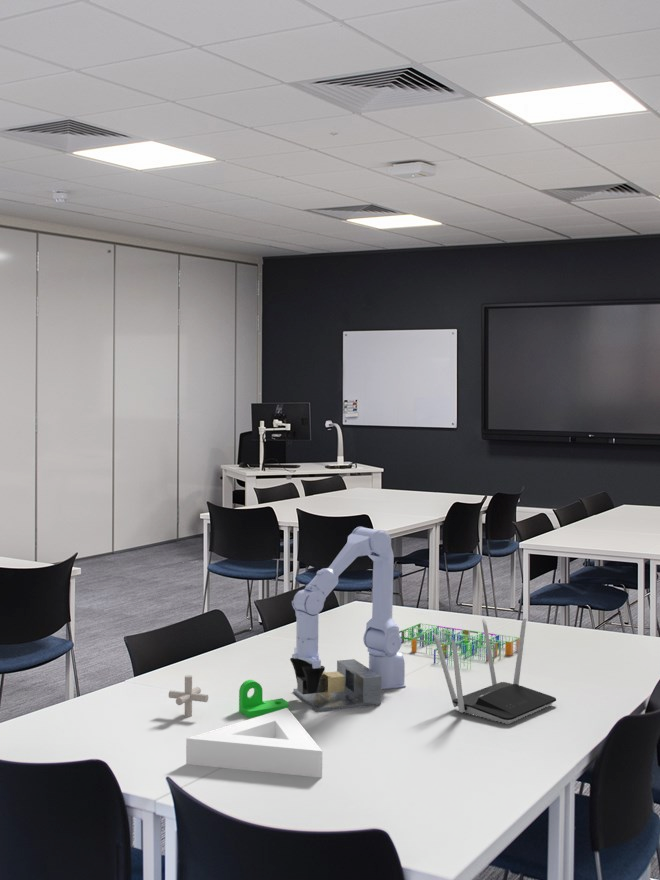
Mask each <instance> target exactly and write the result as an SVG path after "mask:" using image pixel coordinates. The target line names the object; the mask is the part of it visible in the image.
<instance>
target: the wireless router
mask: <svg viewBox="0 0 660 880" xmlns="http://www.w3.org/2000/svg"><path fill="white" fill-rule="evenodd" d="M481 621H482V628H483V632H484V634H483V635H484V638H485V641H486V643H485V645H486V646H485V647H486V648H487V654H488V661H487V662H488V666H489V673H490V679H491V685H489V686H486V687H485V688H481V689H478V690H476V691H475V690H474V692H470V693H468V694H465V695H464V694H463V687H462V678H461V671H460V669H461V668H460V665H459V664H460V661H459V658H458V657H459V654H458V653H459V652H458V645H456V643H457V642H456V640H455V641H454V640H451V641H450V642H452V652H453V653H452V660H453V661H452V662H453V668H454V677H455V678H454V679H455V687H456V692H455V688H454V684H453V682H452V678H451V676H450V675H451V674H450V672H449V668H448V666H447V660H445V659H446V658H444V654H443V651H442V648H441V646H442V645H441V644H440V639H439V638H440V637H439V638H438V635H437V634H436V633H435V632H434V633H433V632H432V636H433V635H434V639H435V640H434V642H436V644H435V646H436V648H437V654H438V653H439V654H438V655H439V656H438V658H440V659H439V660H440V664H441V667H442V670H443V674H444V678H445V680H446V684H447V688H448V691H449V695H450V699H451V702H452V706H453V707H454V708H456V707H458V712H459V713H462V714H463V712H466V713H470V714H474V715H477V716H481V717H484V718H483V719H485V718H487V719H486V720H489V719H491V720H490V721H493V720H494V721H493V722H496V721H498V722H497V723H500V722H502V723H501V724H504V723H505V724H504V725H510V724H512V723H514V721H515V722H517V721H519V720H521V718H522V719H524V718H526V717H528V716H527V715H529V714H531V713H533V714H535V713H534V712H536V711H538V710H540V711H542V710H541V709H543V708H545V707H547V708H549V707H548V706H550V705H551V706H552V704H553V703H555V702H556V701H557V698H556V697H554V696H552V695H549V694H548V693H547V694H546V693H544V692H541V691H537V690H534V689H532V688H528V687H525V686H523V685H520V677H521V671H522V670H521V668H522V661H523V653H524V652H523V651H524V645H525V644H524V643H525V633H526V627H527V618H523V619H522V622H521V625H520V633H519V646H518V652H516V661H515V668H514V669H515V670H514V676H513V683H510V682H507V681H505V682H504V681H500V682H498V681H497V677H496V671H495V666H494V662H493V658H492V657H493V652H492V649H491V648H492V647H491V646H490V641H489V639H490V637H489V636H490V635H489V634H488V633H489V631H488V630H489V629H488V623H487V622H486V621H485V619H484V618H482V620H481ZM455 642H456V643H455ZM486 648H485V649H486ZM497 682H498V683H497ZM551 706H550V707H551ZM545 709H546V708H545ZM543 710H544V709H543ZM538 712H539V711H538ZM466 713H465V714H466ZM536 713H537V712H536ZM470 714H469V715H470ZM474 715H473V716H474ZM531 715H532V714H531ZM477 716H476V717H477ZM525 716H526V717H525ZM529 716H530V715H529ZM481 717H480V718H481ZM523 717H524V718H523ZM518 719H519V720H518ZM516 720H517V721H516Z"/></svg>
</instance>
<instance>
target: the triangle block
mask: <svg viewBox="0 0 660 880" xmlns="http://www.w3.org/2000/svg"><path fill="white" fill-rule="evenodd" d="M289 709H290V708H289ZM289 709H288V708H285V709H281V710H278V711H275V712H272V713H268V714H265V715H262V716H258V717H253V718H248V719H246V720H242V721H239V722H236V723H232V724H229V725H226V726H222V727H220V728H216V729H213V730H209V731H206V732H203V733H199V734H196V735H192V736H189V737H187V738H186V739H185V740H186V743H185V745H186V747H185V748H186V749H185V751H186V752H185V755H186V756H185V759H186V760H185V764H186V765H193V766H203V767H204V766H205V767H210V768H211V767H213V768H223V769H230V770H231V769H233V770H243V771H253V772H262V773H271V774H280V775H282V774H283V775H290V776H291V775H292V776H303V777H312V778H323V750H322V749H321V747H320V746H319V745H318V744H317V743H316V741H315V740H314V739H313V738H312V737H311V735H310V733H308V731H307V730H306V729H305V728H304V727H303V725H302V724H301V723H300V722H299V720H298V719H297V718H296V717H295V716H294V714H293V713H292V712H291V711H290V710H289Z"/></svg>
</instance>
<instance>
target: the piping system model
mask: <svg viewBox="0 0 660 880" xmlns="http://www.w3.org/2000/svg"><path fill="white" fill-rule="evenodd" d="M421 625H422V623H421V622H420V623H417V624H415V625H412V626H410V627H407V628H405V629H401V630H399V634H400V633H401V635H400V637H401V644H405V643H408V642H409V641H410V645H411V653H418V654H422V652H419V651H418V650H417V649H418V648H417V646H418V642H419V647H421V648H423V647H426V648H425V649H426V650H425V651H426V653H424V654H426V655H427V654H428V652H427V651H428V649H429V650H431V647H429V648H428V645H429V646H430V645H433V644H434V645H436V642H435V639H434V635H433V633H434V632H435V633H436V634H437V636H438V638H439V641H440V644H441V648H442V651H443V654H444V658H445V661H446V664H447V667H448V666H450V667H453V662H454V661H453V651H452V642H451V640H454V641H455V643H456V645H457V646H458V649H457V653H458V655H459V656H458V659H459V660H460V661H459V669H461V665H462V664H463V666H466V665H467V666H466V669H467V670H468V668H469V667H468V666H469V665H470V669H469V670H471V669H472V667H471V666H472V660H473V657H472V656H477V660H479V661H480V658H482V656H483V661H486V662H489V661H488V654H487V648H486V641H485V635H484V631H483V632H482V631H477V630H468V629H464V628H463V629H462V628H455V627H447V626H443V625H441V626H440V625H434V624H430V626H431V628H426V629H424V628H423V627H421ZM423 626H429V624H427V623H423ZM415 630H417V631H416V632H415ZM456 631H458V632H456ZM406 633H407V635H406V636H407V637H406V636H405V634H406ZM471 633H473V634H475V635H471ZM488 635H489V641H490V646H491V650H492V651H493V652H492V658H493V663H495V657H497V656H498V655H499V659H501V657H502V655H501V652H502V651H501V649H502V650H505V653H504V654H505V655H506V656H512V655H514V654H515V653H518V646H519V639H520V637H519V636H513V637H512V636H511V635H504V634H495V633H490V632H488ZM490 635H491V636H490ZM501 636H502V637H501ZM504 637H506V638H508V640H504ZM511 638H512V641H511V640H510V639H511ZM514 638H515V639H514ZM504 645H505V647H504ZM514 645H515V646H516V650H515V651H514ZM482 648H483V649H482ZM481 649H482V650H481ZM461 650H462V652H460V651H461ZM481 651H482V652H483V653H481ZM480 653H481V654H480ZM430 655H431V656H433V664H437V665H438V664H439V662H436V661H437V660H436V659H437V657H438V660H440V657H439V653H438V650H437V647H436V648H434V649H433V651H430V653H429V656H430ZM449 656H450V658H449ZM463 656H464V661H463V662H462V657H463ZM469 658H470V659H469ZM466 660H467V662H465V661H466ZM468 660H469V661H468ZM465 664H466V665H465Z"/></svg>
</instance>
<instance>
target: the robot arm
mask: <svg viewBox="0 0 660 880" xmlns="http://www.w3.org/2000/svg"><path fill="white" fill-rule="evenodd" d="M364 556H368V557H369V559H371V560H372V563H373V565H372V566H373V568H372V569H373V571H372V606H371V607H372V608H371V609H372V610H371V611H372V612H371V613H372V615H371V619H369V620H368V621H367V622H366V625H365V631H364V634H363V638H362V639H363V644H364V646H365V647H366V648H367V652H368V668H369V669H370V670H372V671H374V672H375V673H377V674H378V675H380V676H381V690H387V689H388V690H389V689H397V688H398V689H399V688H405V687H406V684H405V674H406V673H405V671H406V670H405V668H406V666H405V662H406V661H405V658H404V655H403V654H402V652H400V649H401V646H402V643H401V635H400V633H399V631H400V627H399V625H398V624H397V623H396V621H395V620H394V618H393V607H394V606H393V604H394V603H393V599H394V596H393V595H394V561H395V560H394V559H395V557H394V551H393V548H392V537H391V536H390V535H389V533H387V532H386V531H385V530H384V529H383V530H382V529H373V528H368V527H365V526H357V527H356V528H354V529H353V530H352V532H351V533H350V534H349V535H347V542H346V544H345V545H344V546H343V548H342V549H341V550H340V551H339V553H338V554H337V555H336V557H335V558H334V559H333V561H332V563H330V565H329V566H328V567H326V568H325V567H324V568H321V569H320V570H319V569H318V570H317V571H316V575H315V576H314V577H313V579H312V580H310V582H309V583H308V584H306V585H305V588H304V589H301V590H298V591H296V593H295V594H294V596H293V600H291V606H292V608H293V610H294V611H295V617H296V621H295V622H296V627H295V628H296V635H295V636H296V642H295V643H296V645H295V646H296V647H294V649H293V650H294V653H292V654H291V657H290V659H289V660H290V662H291V665H292V668H293V669H294V674H295V678H296V680H297V677H299V676H305V678H306V685H307V691H308V693H309V694H312V693H316V692H317V688H318V684H319V680H320V677H321V675H322V673H323V672H325V669H326V668H325V667H326V666H324V665H322V664H321V663H322V660H321V659H320V653H319V623H320V621H319V618H320V617H319V616H320V615H319V613H320V612H322V611H323V608H324V606H325V605H324V604H325V602H326V598H327V597H328V596H329V595H330V593H332V591H333V590H334V589H335V588H336V586H337V585H338V584H339V576H340V575H341V574H342V573H343V572H344V571H345V570H346V569H347V568H348V567H349V566H350V565H351V564H352V563H353V562H354V561H356V559H357V558H358V557H364Z"/></svg>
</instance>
